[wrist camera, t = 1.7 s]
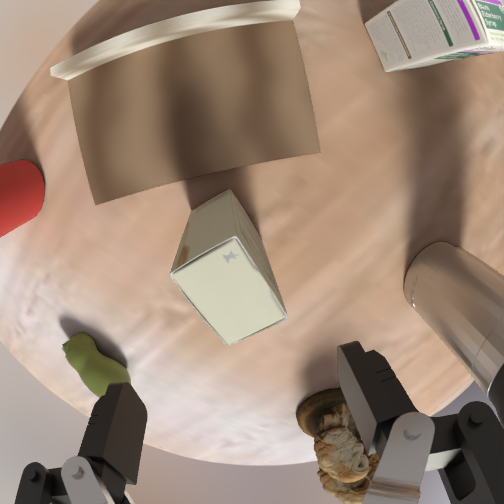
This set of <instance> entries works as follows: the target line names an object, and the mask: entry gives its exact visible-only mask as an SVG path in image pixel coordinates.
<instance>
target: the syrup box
mask: <svg viewBox="0 0 504 504" xmlns="http://www.w3.org/2000/svg"><path fill="white" fill-rule="evenodd" d="M365 27H366V29H367V31H368V34H369V36H370V38H371V41H372V43H373V45H374V47H375V50H376V52H377V54H378V57H379V59H380V61H381V64H382V66H383V69H384V71H385V72H390V71H399V70H407V69H414V68H421V67H427V66H431V65H435V64H439V63H443V62H448V61H453V60H457V59H462V58H467V57H472V56H478V55H484V54H490V53H497V52H504V0H397V1H396V2H394V3H393V4H391V5H390V6H388V7H387V8H385V9H384V10H383V11H381V12H380V13H378V14H377V15H375V16H374V17H373V18H371V19H370V20H368V21H367V22H366V23H365Z"/></svg>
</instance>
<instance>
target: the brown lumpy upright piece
mask: <svg viewBox="0 0 504 504" xmlns="http://www.w3.org/2000/svg"><path fill="white" fill-rule="evenodd" d="M296 417H297V421H298V425H299V426H300V428H301V429H302V430H303V432H305V433H306V434H308V435H310V436H312V437H314V442H315V444H314V451H315V452H316V456H317V459H318V464H319V466H320V468H319V469H320V471H318V472H317V474H318V476H319V477H320V481H321V483H322V484H323V489H324V490H325V491H326V492H327V493H328V494H330V495H334V496H335V497H336V498H338V499H339V501H341V502H342V503H343V504H361V503H362V501H363V498H364V496H365V494H366V492H367V490H368V488H369V485H370V483H371V481H372V479H373V476H374V474H375V471H376V469H377V467H378V464H379V462H380V460H379V458H378V455H377V453H374V454H371V455H368V454H367V451H366V449H365V446H364V444H363V441H362V440H361V436H360V434H359V431H358V429H357V426H356V424H355V421H354V419H353V416H352V414H351V411H350V409H349V406H348V404H347V402H346V399H345V397H344V394H343V392H342V389H341V388H337V389H335V390H332V389H328V390H324V391H321V392H319V393H317V394H315V395H313V396H311V397H309V398H308V399H306V400H305V401H304V402H303V403H302V404H301V405H300V406H299V407H298V410H297V415H296Z"/></svg>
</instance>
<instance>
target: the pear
mask: <svg viewBox="0 0 504 504" xmlns="http://www.w3.org/2000/svg"><path fill="white" fill-rule="evenodd" d="M62 345H63V348H62V349H63V351H64V352H65V353H66V359H67V360H68V362H69V364H70V365H71V366H72V367H73V368H74V369H75V370H76V371H77V372H78V373H79V375H80V377H81V379H82V381H83V382H84V384H85V385H86V386H87V387H88V388H89V390H91V391H92V392H93V393H94V394H95V395H96V396H98V397H99V398H100V397H101V396H102V395H105V393H106V390H107V387H108V385H109V384H110V383H115V382H129V383H130V384H131V379H130V375H129V373H128V371H127V370H126V369H125V367H124V366H122V365H121V364H120V363H118V362H117V361H115V360H113V359H111V358H108V357H106V356H104V355H102V354H101V353H99V352H98V351H97V349H96V346H95V343H94V340H93V339H92V338H91V337H90V336H88V335H86V334H85V333H79V334H78V335H73V336H72V337H71V338H70V340H68V341H67V342H65V343H64V344H62Z"/></svg>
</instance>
